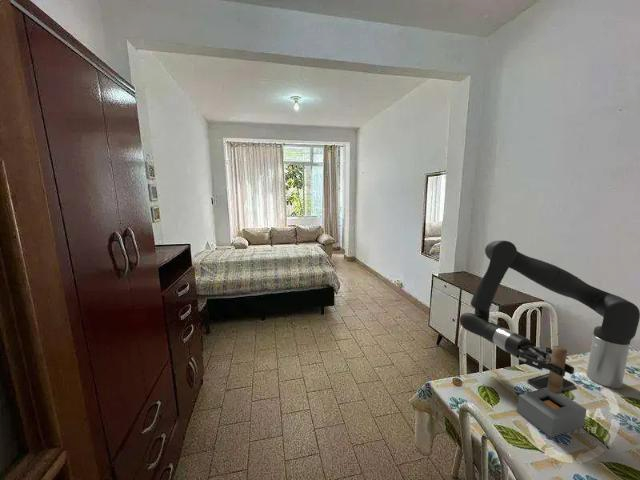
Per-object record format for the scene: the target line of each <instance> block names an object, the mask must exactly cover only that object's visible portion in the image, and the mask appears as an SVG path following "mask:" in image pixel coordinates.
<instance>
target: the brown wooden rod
mask: <svg viewBox="0 0 640 480" xmlns="http://www.w3.org/2000/svg"><path fill="white" fill-rule="evenodd" d="M551 349H552V356H551V363H553V364H554V365H557V366H558V367H560V368H562V369H565V363H566V360H567V353H568V350H567V349H566V348H565V347H562V346H560V345H553V346H552V348H551ZM548 371H549V378H548V386H547V389H548V390H549V391H551V392H553V393H556V394H562V392H561V389H562V382H563V378H564V376H563V377H561V376H559V375H558V374H556V373H554V372H552V371H550V370H548Z"/></svg>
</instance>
